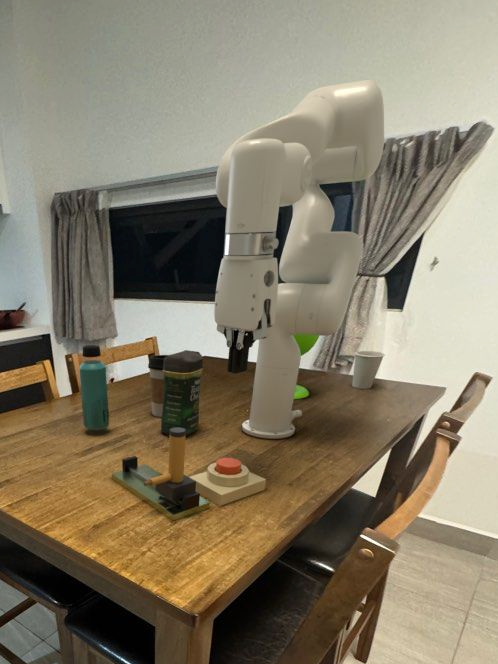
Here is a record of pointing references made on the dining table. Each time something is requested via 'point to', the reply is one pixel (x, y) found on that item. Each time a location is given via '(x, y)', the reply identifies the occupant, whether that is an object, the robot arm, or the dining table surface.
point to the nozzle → (174, 470)
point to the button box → (227, 485)
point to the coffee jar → (181, 391)
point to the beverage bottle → (94, 390)
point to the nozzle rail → (134, 483)
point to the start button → (228, 466)
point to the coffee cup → (157, 383)
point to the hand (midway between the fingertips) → (237, 371)
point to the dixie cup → (366, 368)
